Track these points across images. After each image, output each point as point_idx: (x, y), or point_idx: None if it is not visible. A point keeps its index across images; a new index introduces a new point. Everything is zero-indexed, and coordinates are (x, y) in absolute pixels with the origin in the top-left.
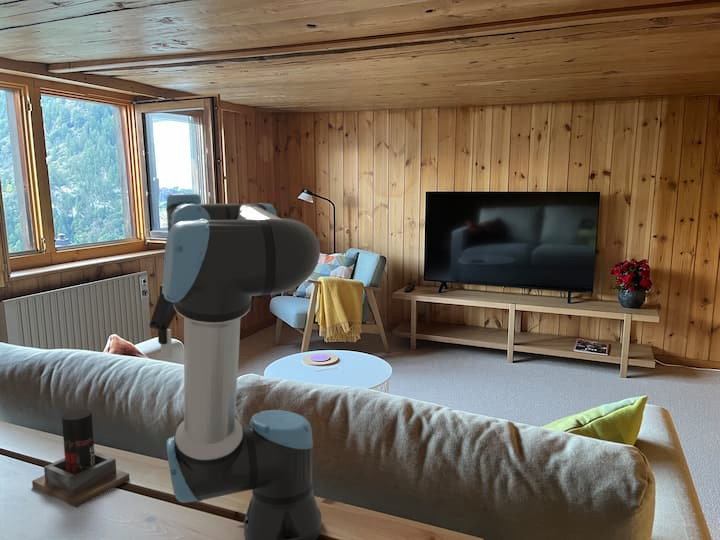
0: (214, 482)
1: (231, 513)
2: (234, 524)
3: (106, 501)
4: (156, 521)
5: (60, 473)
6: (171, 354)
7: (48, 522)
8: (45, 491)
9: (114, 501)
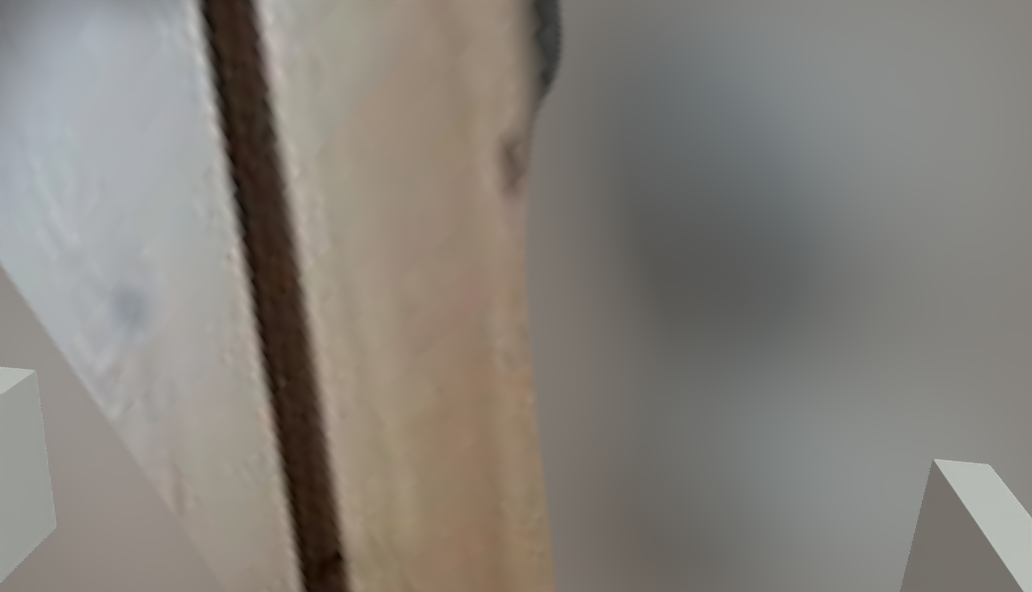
0: None
1: (322, 545)
2: (278, 588)
3: (94, 29)
4: (132, 339)
5: None
6: (16, 555)
7: None
8: None
9: (115, 64)
